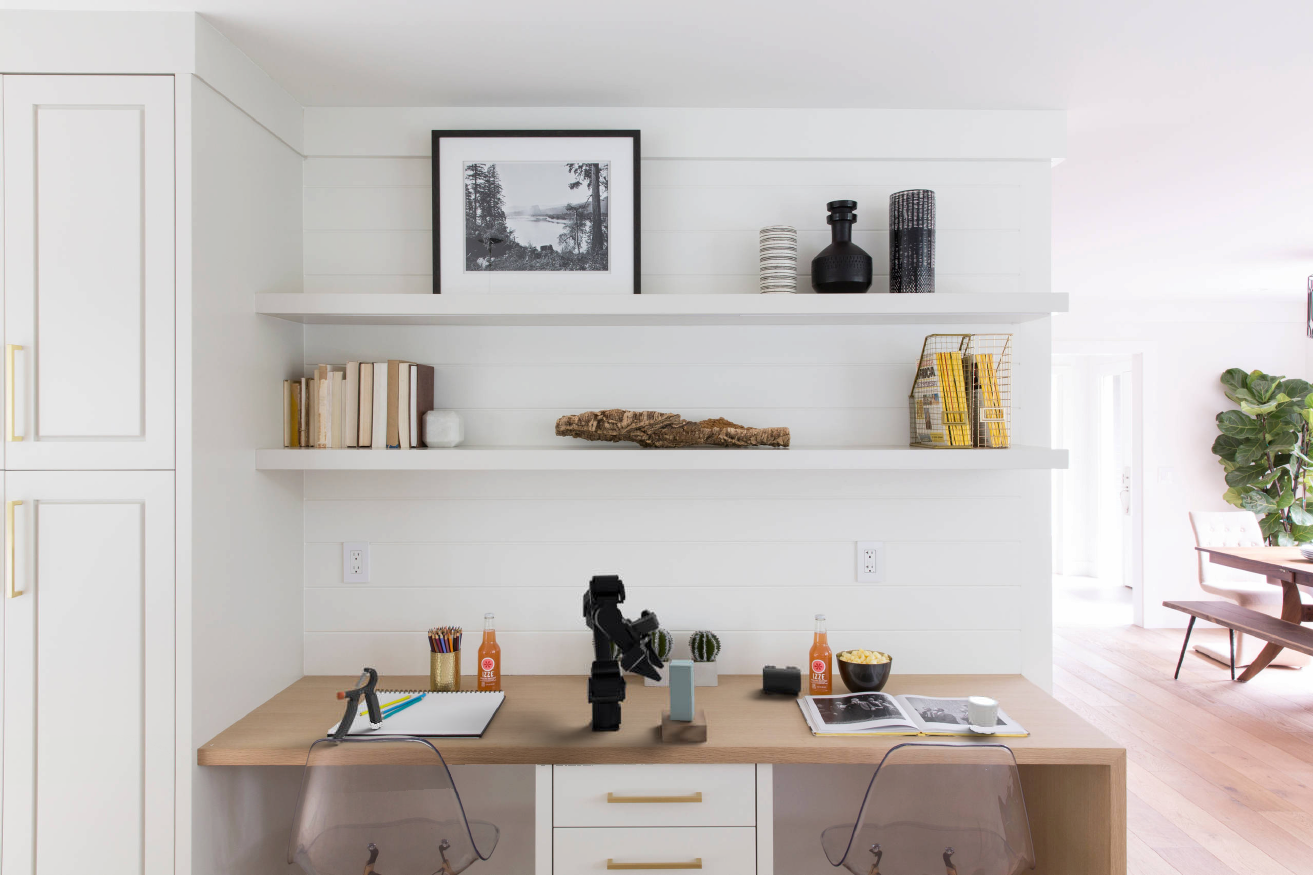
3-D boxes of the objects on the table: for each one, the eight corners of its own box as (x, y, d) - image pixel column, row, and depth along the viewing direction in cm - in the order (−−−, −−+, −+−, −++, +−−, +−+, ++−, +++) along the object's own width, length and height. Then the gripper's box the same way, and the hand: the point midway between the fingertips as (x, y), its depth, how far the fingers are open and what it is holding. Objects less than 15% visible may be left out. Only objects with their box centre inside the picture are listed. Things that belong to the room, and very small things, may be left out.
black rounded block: (762, 696, 199) (762, 671, 199) (762, 687, 206) (762, 663, 206) (801, 698, 198) (801, 672, 198) (799, 689, 205) (799, 664, 205)
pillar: (670, 719, 173) (669, 665, 174) (673, 712, 178) (672, 659, 179) (692, 720, 172) (690, 665, 173) (694, 713, 177) (693, 659, 178)
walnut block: (662, 743, 170) (662, 725, 170) (661, 726, 180) (661, 709, 180) (706, 742, 170) (706, 725, 170) (703, 725, 180) (703, 709, 180)
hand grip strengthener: (330, 744, 169) (330, 678, 168) (376, 726, 179) (376, 663, 179) (336, 747, 167) (336, 679, 167) (383, 728, 178) (383, 664, 178)
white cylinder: (999, 727, 178) (1000, 698, 178) (996, 737, 172) (996, 707, 172) (968, 722, 181) (968, 693, 181) (964, 731, 175) (964, 701, 175)
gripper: (635, 611, 167) (684, 661, 166) (642, 593, 185) (687, 639, 184) (599, 646, 167) (649, 696, 166) (610, 624, 186) (655, 670, 185)
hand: (661, 673), depth 176 cm, fingers open, 9 cm apart
